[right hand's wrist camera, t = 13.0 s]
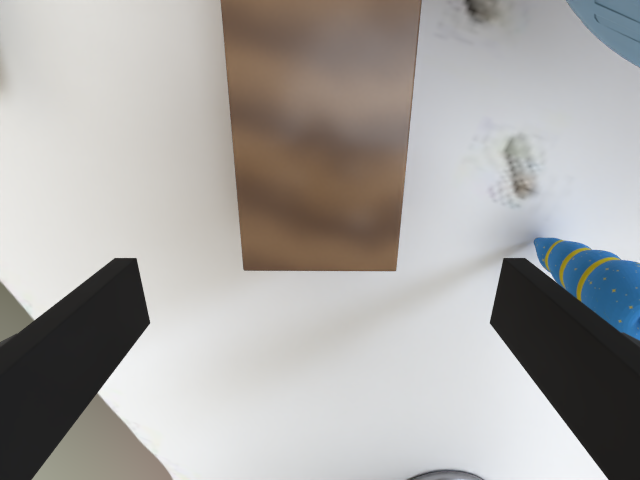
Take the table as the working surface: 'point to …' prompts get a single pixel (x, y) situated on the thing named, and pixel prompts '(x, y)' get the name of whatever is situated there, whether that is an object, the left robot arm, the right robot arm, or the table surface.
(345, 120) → the cabinet
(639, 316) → the ornament
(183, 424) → the table surface
